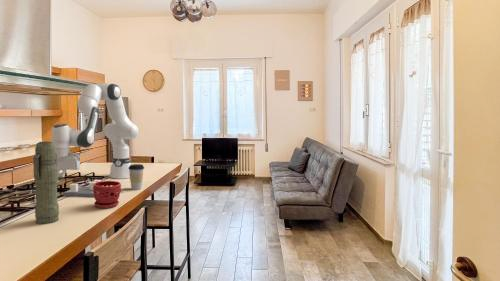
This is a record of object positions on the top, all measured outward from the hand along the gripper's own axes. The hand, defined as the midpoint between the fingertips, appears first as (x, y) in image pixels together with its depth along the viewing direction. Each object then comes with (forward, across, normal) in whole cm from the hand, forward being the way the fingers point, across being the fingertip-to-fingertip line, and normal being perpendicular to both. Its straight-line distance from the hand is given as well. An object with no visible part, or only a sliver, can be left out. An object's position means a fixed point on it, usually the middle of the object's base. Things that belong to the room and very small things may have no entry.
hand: (61, 177), depth 189 cm
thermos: (+11, -17, +42) cm, 47 cm away
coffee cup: (+10, -36, -20) cm, 42 cm away
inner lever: (+8, -15, -11) cm, 21 cm away
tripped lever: (+8, -7, 0) cm, 11 cm away
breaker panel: (+10, -11, -6) cm, 16 cm away
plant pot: (+11, -34, +18) cm, 39 cm away
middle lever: (+8, -15, -6) cm, 18 cm away
